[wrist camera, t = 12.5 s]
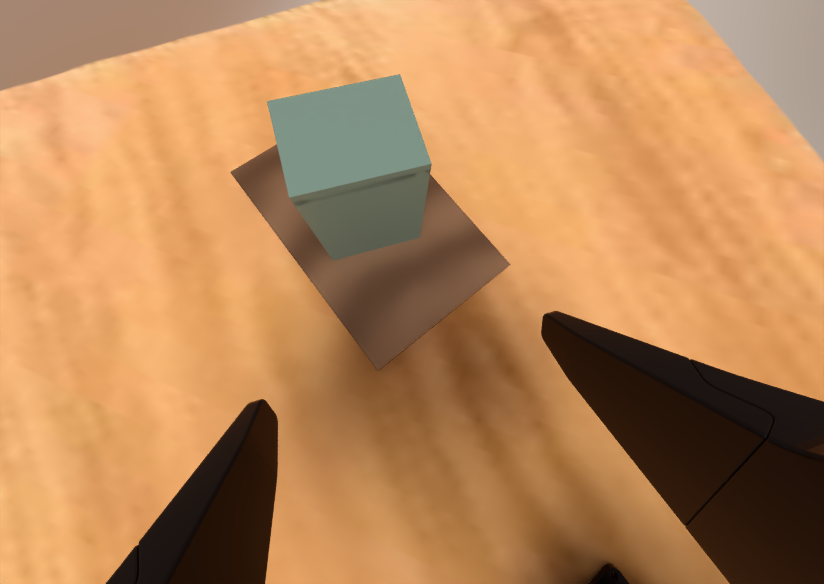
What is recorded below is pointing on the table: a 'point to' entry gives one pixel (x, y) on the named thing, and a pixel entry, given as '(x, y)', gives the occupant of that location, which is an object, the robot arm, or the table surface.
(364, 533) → the table surface
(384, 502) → the table surface
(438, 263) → the stud board
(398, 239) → the seafoam square prism
